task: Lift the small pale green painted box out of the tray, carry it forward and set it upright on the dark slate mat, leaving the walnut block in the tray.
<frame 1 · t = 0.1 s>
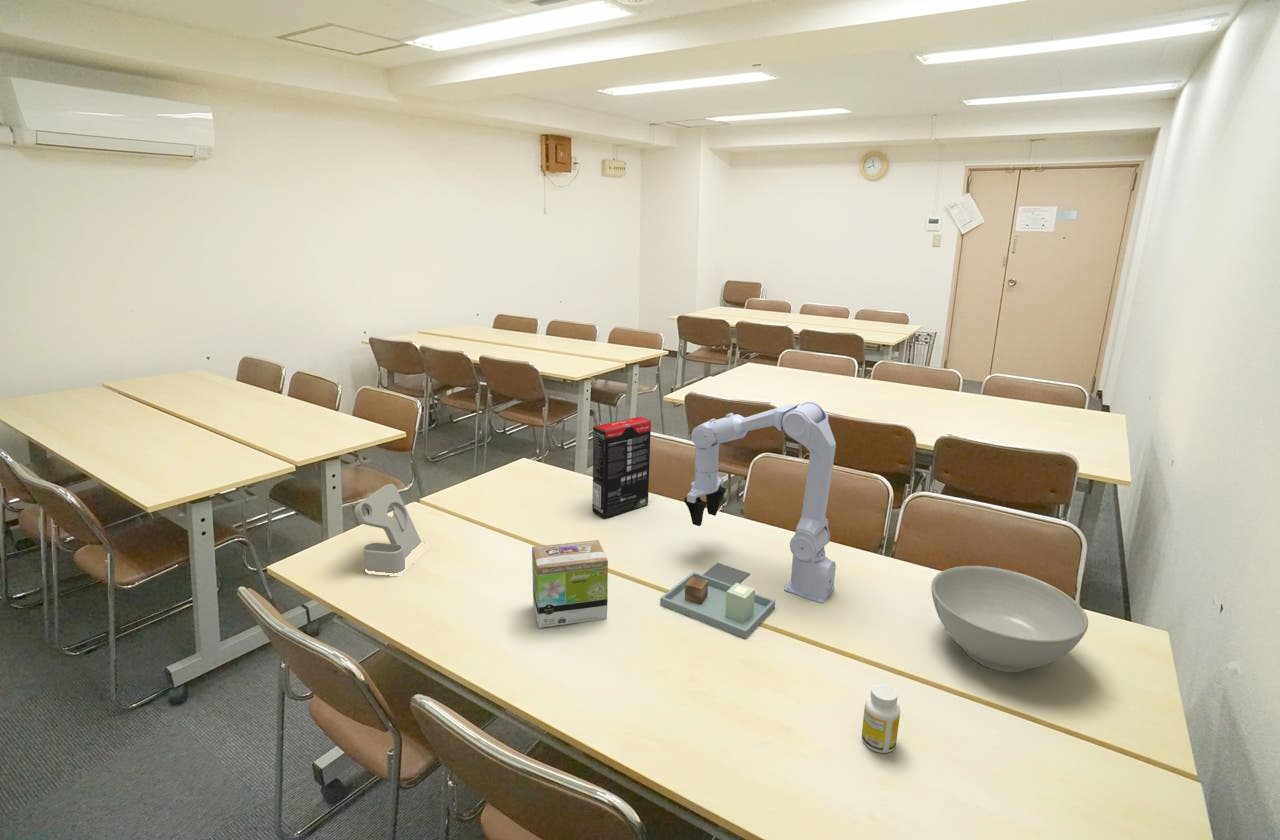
hand: (704, 519, 165), 10 cm above the table, tool pointing down, fingers open, 7 cm apart
pale green box: (739, 614, 142), resting on tray
walnut block: (696, 598, 148), resting on tray
graphics card box: (621, 509, 195), on the table
phone holder: (398, 559, 166), on the table
supplement bottle: (878, 742, 108), on the table
decorative bowl: (996, 653, 131), on the table
tray: (717, 607, 145), on the table
mat: (724, 576, 158), on the table
tea box: (570, 613, 143), on the table
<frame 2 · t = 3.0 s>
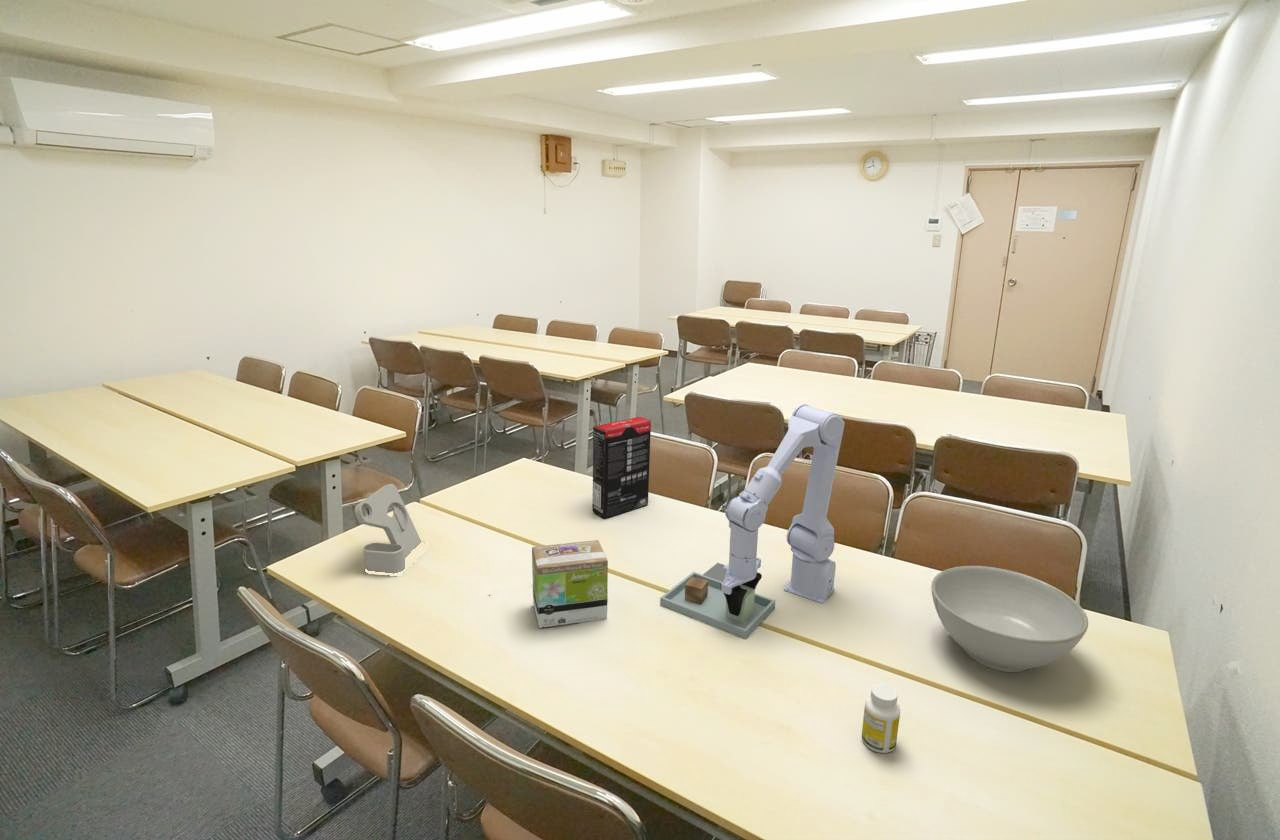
hand: (739, 608, 142), 2 cm above the table, tool pointing down, fingers closed on pale green box, 4 cm apart
pale green box: (739, 614, 142), resting on tray, touching gripper
everything else where it was.
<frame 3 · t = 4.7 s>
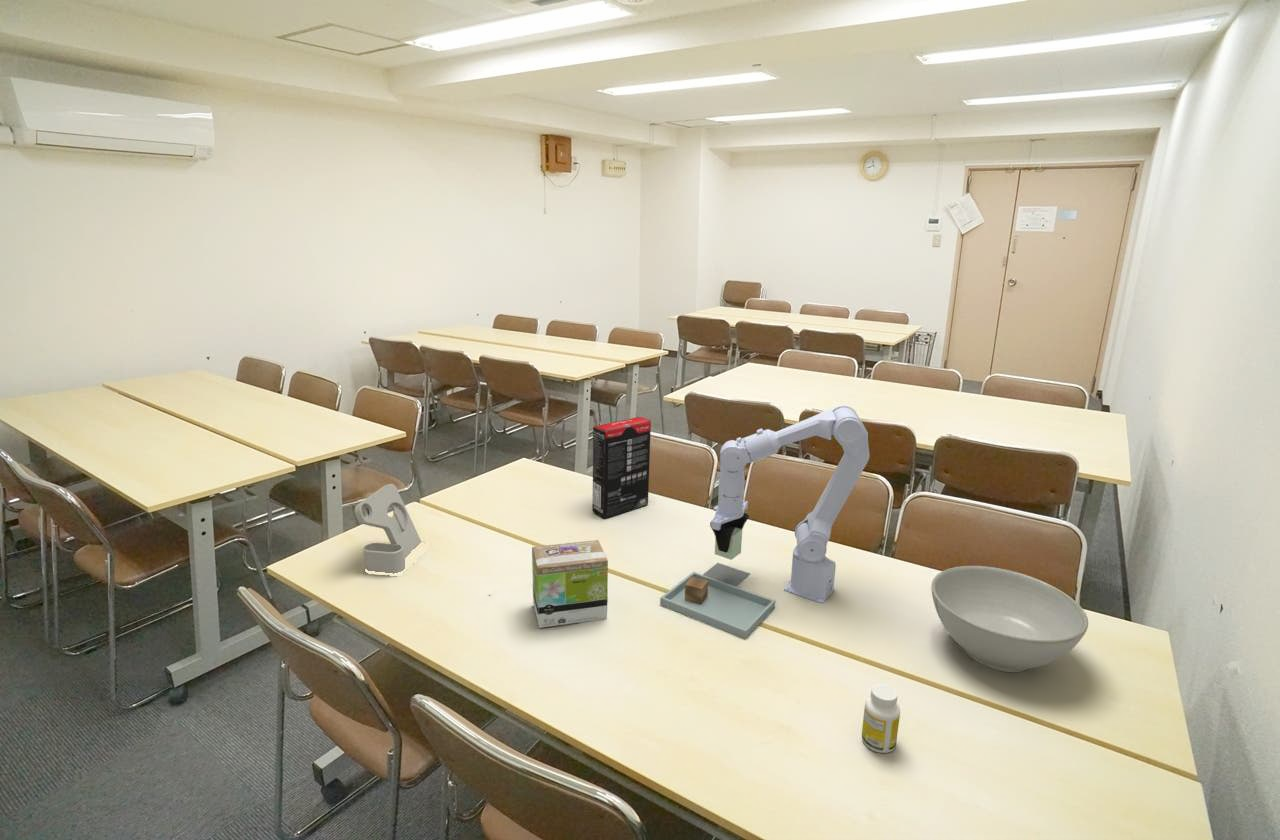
hand: (728, 546, 153), 9 cm above the table, tool pointing down, fingers closed on pale green box, 5 cm apart
pale green box: (727, 553, 153), point 8 cm above the table, touching gripper
everything else where it was.
when the fingers open (3 cm above the table, at t = 6.6 s): pale green box stays where it is, resting on mat.
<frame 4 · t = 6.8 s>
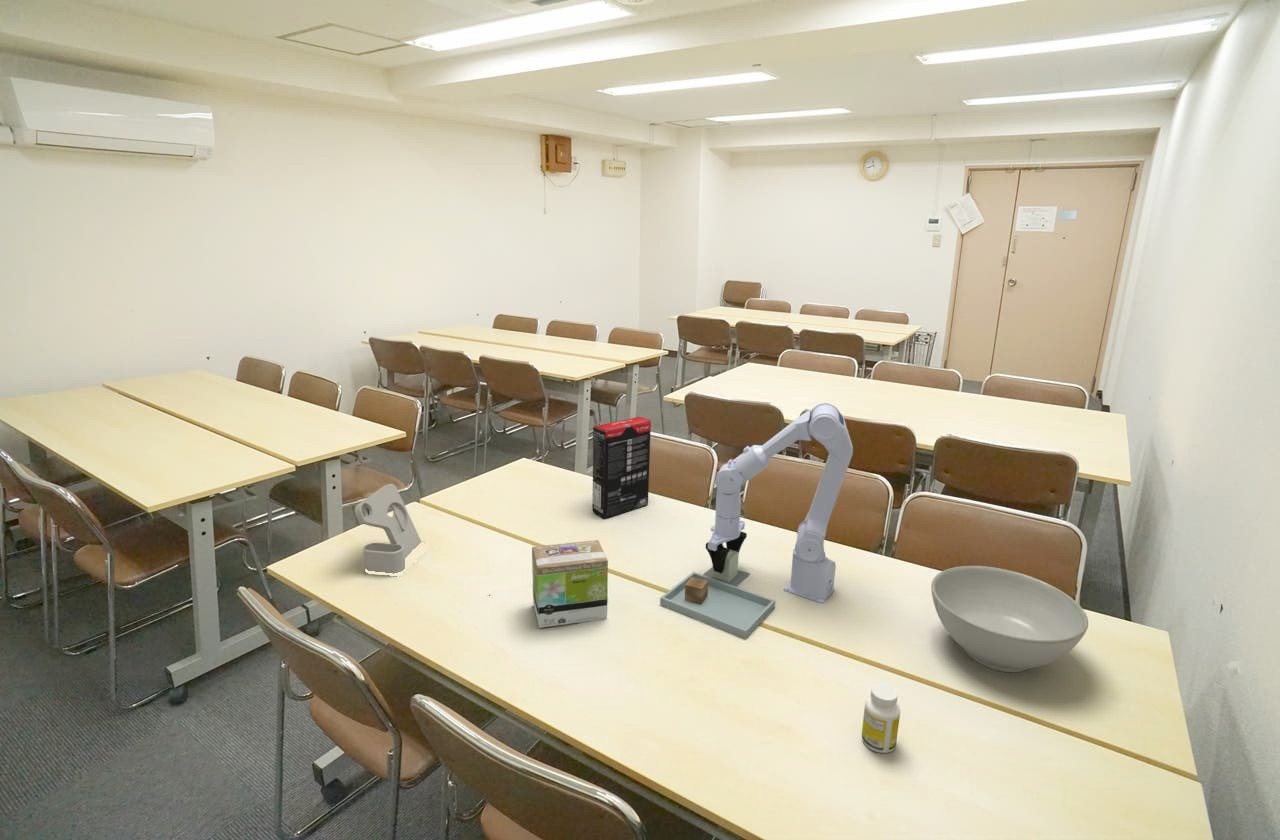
hand: (725, 565, 157), 3 cm above the table, tool pointing down, fingers open, 6 cm apart
pale green box: (724, 575, 158), resting on mat
everything else where it was.
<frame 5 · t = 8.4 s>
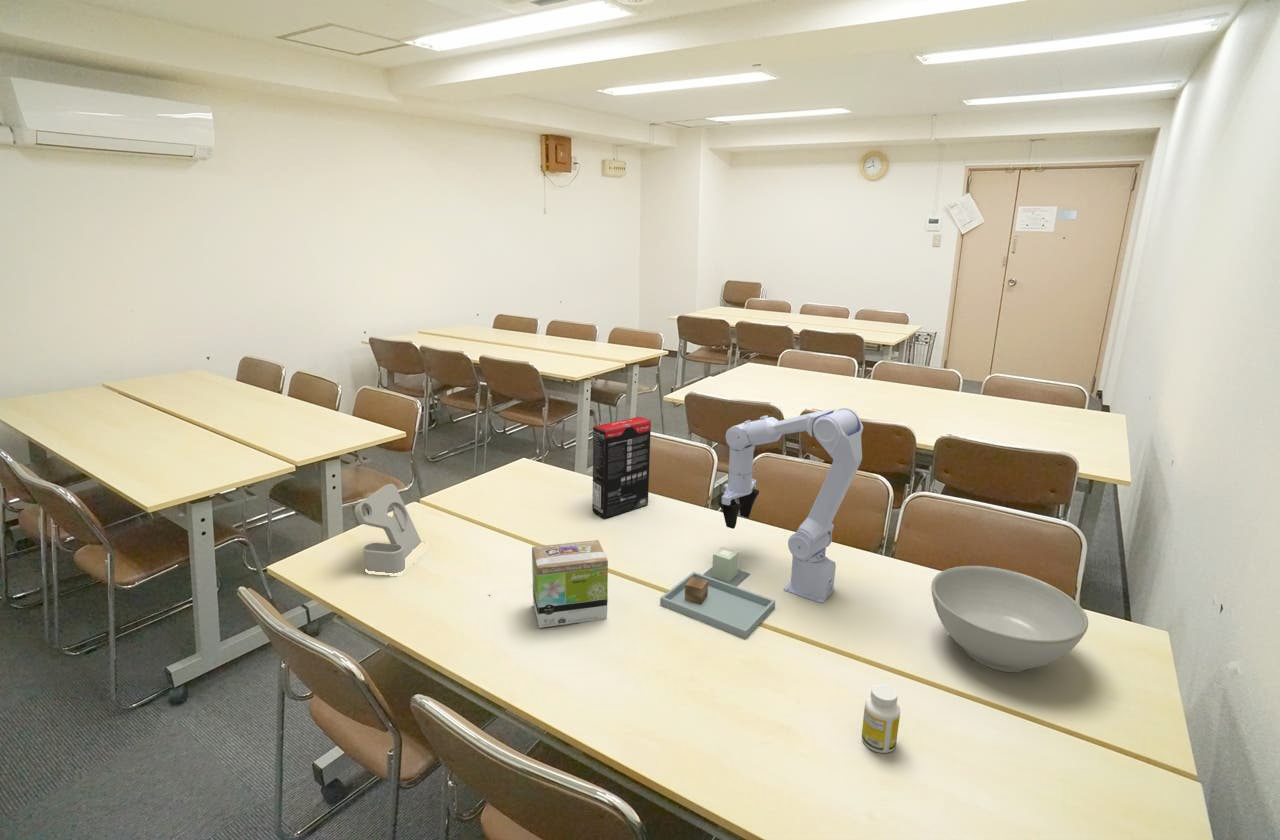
hand: (737, 521, 163), 10 cm above the table, tool pointing down, fingers open, 7 cm apart
nothing on the table moved.
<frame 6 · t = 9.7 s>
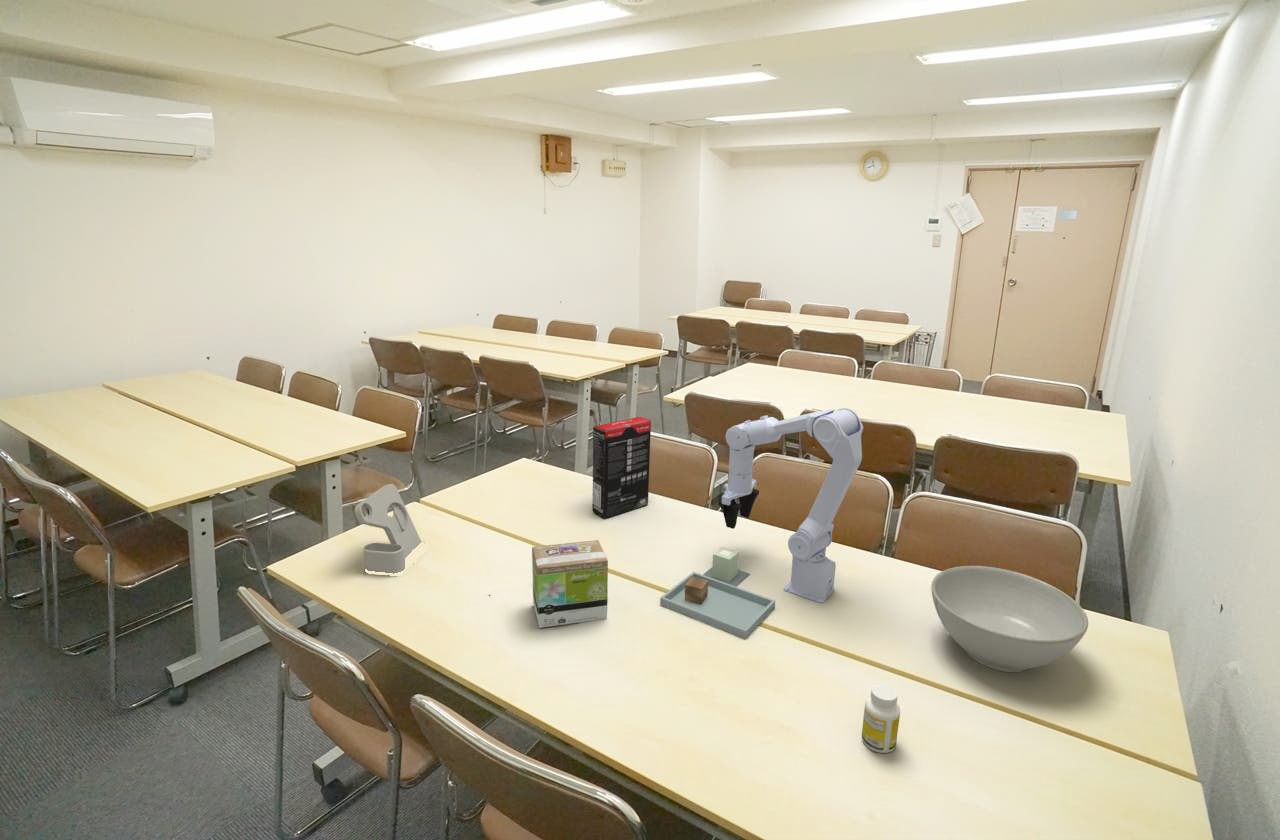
hand: (737, 521, 163), 10 cm above the table, tool pointing down, fingers open, 7 cm apart
nothing on the table moved.
at the end: pale green box 0.0 cm from the mat (horizontally); pale green box tilted 0°; the gripper is holding nothing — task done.
